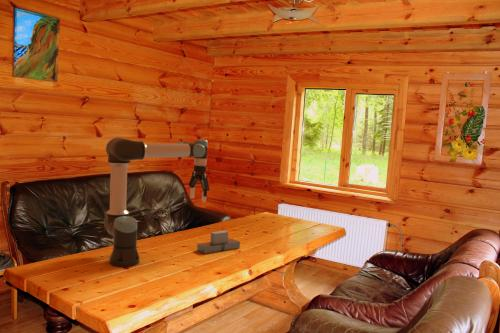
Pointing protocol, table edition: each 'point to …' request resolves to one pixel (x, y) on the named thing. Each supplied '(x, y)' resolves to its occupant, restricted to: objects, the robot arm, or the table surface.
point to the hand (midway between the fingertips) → (197, 200)
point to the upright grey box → (219, 237)
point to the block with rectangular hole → (217, 246)
